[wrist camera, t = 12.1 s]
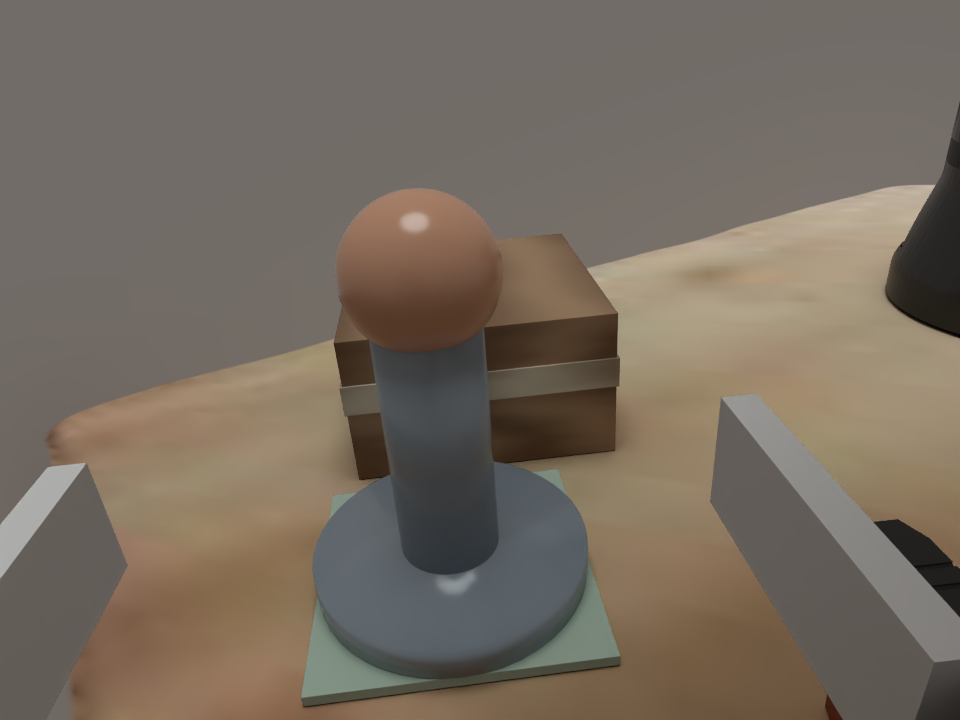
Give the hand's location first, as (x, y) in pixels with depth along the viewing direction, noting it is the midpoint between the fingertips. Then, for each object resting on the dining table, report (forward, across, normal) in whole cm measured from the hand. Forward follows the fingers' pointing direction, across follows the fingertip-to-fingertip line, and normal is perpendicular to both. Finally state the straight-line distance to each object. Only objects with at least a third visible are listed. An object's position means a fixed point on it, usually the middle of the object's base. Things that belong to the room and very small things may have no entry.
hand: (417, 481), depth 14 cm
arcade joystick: (+8, 0, -10) cm, 12 cm away
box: (+20, +2, -10) cm, 23 cm away
